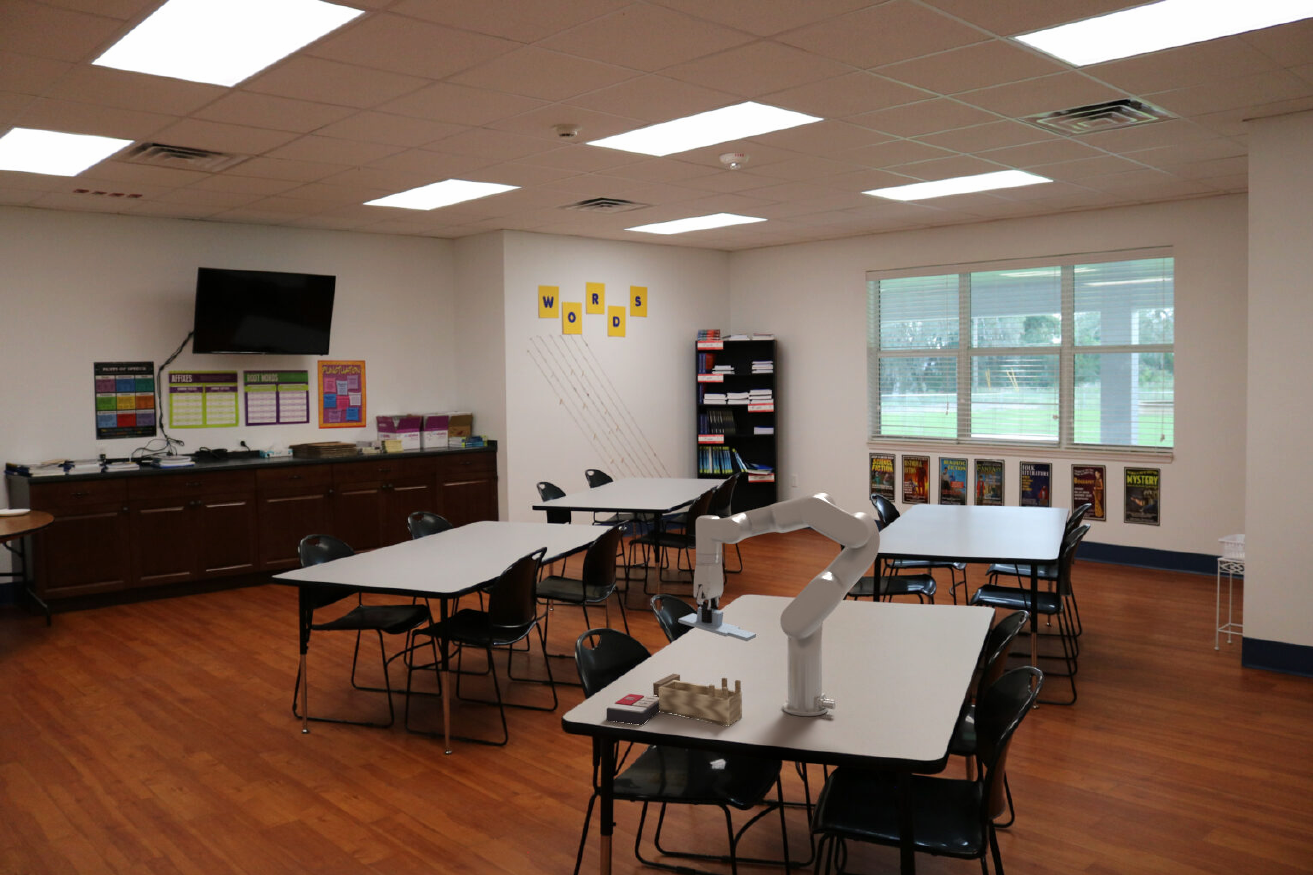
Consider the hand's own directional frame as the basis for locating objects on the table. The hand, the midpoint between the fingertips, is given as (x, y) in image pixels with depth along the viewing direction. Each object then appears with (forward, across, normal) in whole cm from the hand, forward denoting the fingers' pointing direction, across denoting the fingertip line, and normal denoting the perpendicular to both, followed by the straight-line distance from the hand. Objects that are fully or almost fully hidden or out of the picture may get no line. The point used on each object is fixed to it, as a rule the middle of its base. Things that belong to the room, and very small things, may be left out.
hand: (709, 620), depth 269 cm
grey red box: (+24, +22, -12) cm, 34 cm away
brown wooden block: (+23, 0, -15) cm, 28 cm away
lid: (+2, 0, +2) cm, 3 cm away
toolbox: (+23, +13, +4) cm, 27 cm away
